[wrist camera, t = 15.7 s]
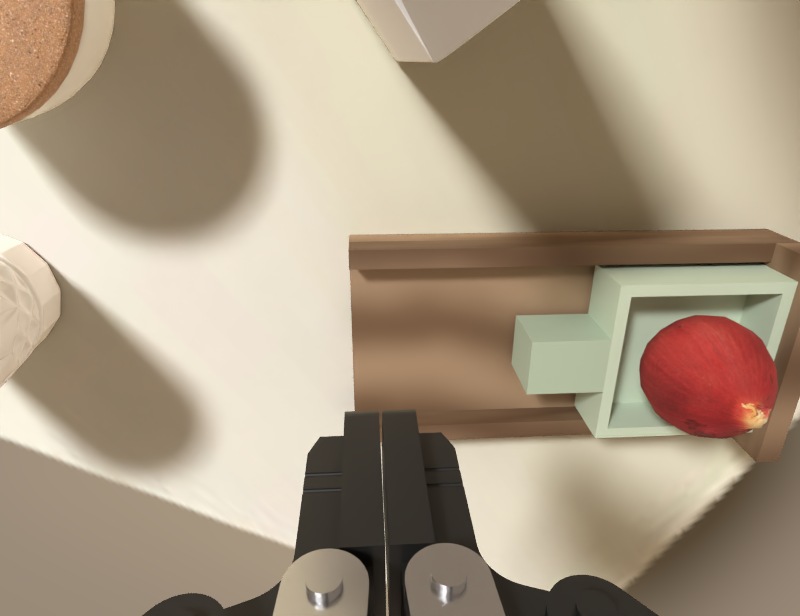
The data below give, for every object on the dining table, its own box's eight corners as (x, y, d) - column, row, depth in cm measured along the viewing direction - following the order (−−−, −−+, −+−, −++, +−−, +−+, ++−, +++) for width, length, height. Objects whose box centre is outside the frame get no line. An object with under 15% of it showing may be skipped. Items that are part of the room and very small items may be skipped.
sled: (520, 264, 29) (538, 287, 27) (756, 260, 30) (798, 281, 27) (507, 407, 33) (521, 440, 30) (718, 400, 34) (752, 432, 31)
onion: (720, 371, 32) (827, 462, 25) (621, 397, 32) (697, 496, 25) (716, 279, 30) (833, 350, 22) (609, 308, 30) (689, 388, 23)
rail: (349, 235, 30) (347, 271, 25) (767, 229, 31) (846, 262, 26) (355, 416, 34) (354, 478, 29) (719, 403, 36) (779, 461, 31)
